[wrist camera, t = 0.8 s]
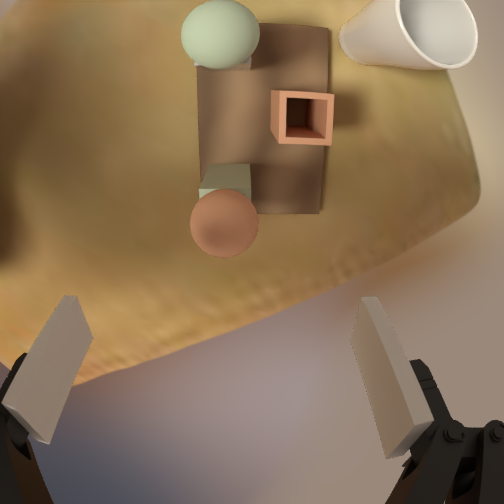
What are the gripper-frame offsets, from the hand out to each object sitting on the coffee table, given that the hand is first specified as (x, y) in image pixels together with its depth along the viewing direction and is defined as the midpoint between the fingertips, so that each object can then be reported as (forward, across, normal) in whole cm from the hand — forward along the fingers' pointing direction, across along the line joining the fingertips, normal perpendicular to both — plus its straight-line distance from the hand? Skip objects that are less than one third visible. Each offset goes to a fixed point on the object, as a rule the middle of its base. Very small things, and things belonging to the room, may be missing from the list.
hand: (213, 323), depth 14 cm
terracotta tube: (+21, +6, +7) cm, 23 cm away
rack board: (+22, +3, +6) cm, 23 cm away
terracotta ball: (+13, 0, 0) cm, 13 cm away
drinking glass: (+22, +13, +16) cm, 30 cm away
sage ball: (+13, 0, +13) cm, 19 cm away
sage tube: (+21, 0, 0) cm, 21 cm away
